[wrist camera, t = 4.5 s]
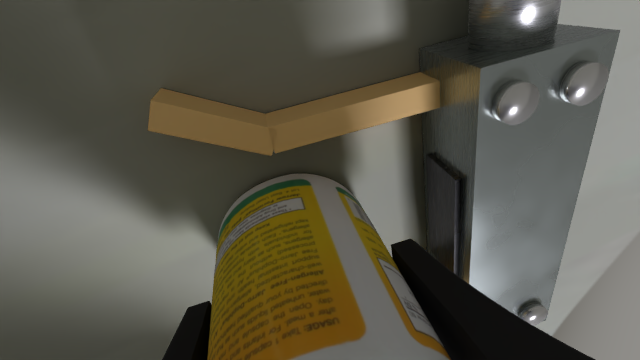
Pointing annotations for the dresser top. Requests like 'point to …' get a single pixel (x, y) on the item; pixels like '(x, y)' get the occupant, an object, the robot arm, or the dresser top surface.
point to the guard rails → (291, 115)
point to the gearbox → (511, 146)
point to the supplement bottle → (311, 281)
